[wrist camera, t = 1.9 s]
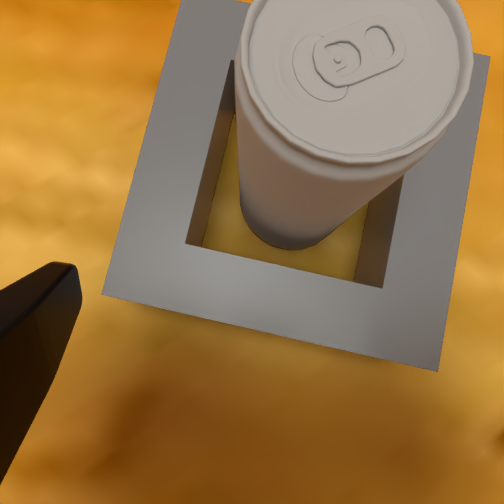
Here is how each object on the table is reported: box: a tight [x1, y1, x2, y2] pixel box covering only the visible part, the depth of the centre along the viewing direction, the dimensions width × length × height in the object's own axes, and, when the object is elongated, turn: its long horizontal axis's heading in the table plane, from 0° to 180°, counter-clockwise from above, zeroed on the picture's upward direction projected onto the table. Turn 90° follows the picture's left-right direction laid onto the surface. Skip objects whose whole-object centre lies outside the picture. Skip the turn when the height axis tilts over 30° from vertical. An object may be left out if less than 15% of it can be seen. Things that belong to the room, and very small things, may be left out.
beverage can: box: [234, 0, 474, 249], centre depth 14 cm, size 5×5×12 cm
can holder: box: [101, 0, 490, 372], centre depth 18 cm, size 12×12×4 cm
